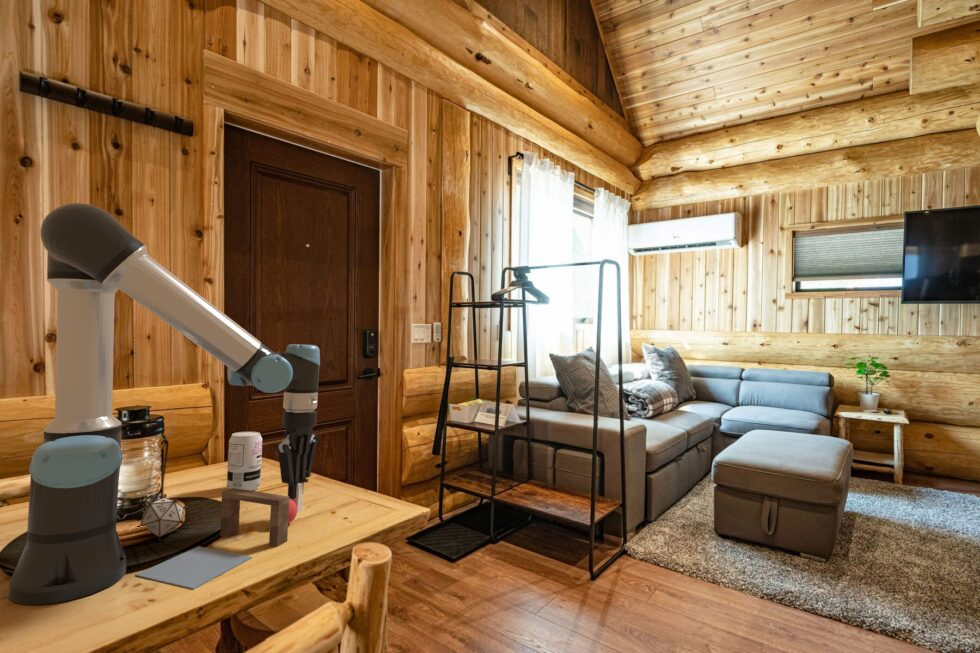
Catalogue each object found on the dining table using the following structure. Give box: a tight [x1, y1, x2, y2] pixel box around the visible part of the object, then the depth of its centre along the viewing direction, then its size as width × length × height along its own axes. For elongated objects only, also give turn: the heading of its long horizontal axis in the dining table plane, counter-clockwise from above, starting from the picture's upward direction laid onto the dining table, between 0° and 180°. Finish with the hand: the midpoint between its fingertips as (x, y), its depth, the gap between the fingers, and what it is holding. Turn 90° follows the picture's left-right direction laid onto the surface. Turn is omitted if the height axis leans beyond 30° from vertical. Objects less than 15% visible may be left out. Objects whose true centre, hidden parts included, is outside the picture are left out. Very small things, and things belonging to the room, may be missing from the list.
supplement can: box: [226, 431, 263, 491], centre depth 139 cm, size 8×8×15 cm
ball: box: [288, 499, 298, 524], centre depth 114 cm, size 6×6×6 cm
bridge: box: [219, 488, 289, 547], centre depth 106 cm, size 3×14×9 cm, turn 73°
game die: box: [136, 493, 188, 541], centre depth 105 cm, size 9×8×10 cm
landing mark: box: [135, 545, 253, 590], centre depth 92 cm, size 13×13×1 cm
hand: (294, 511), depth 118 cm, fingers closed
